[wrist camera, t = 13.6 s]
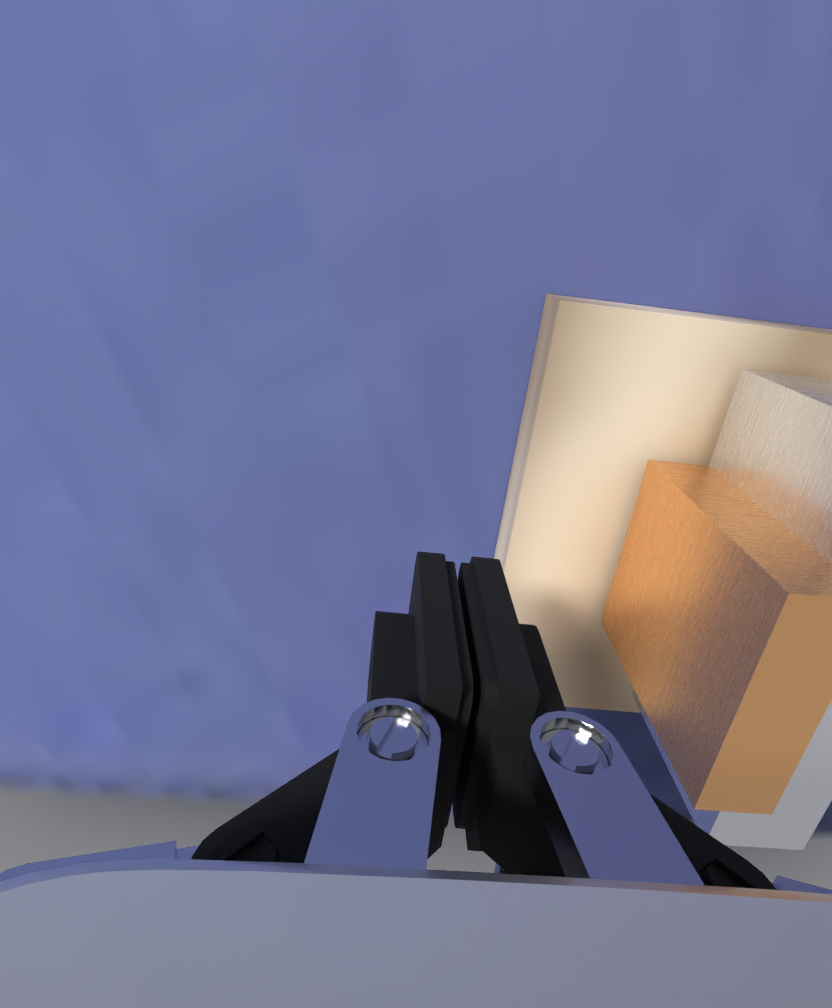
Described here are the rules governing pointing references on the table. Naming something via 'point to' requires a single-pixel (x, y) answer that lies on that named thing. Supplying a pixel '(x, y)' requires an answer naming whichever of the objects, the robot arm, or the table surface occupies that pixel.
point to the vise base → (616, 456)
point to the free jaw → (738, 615)
